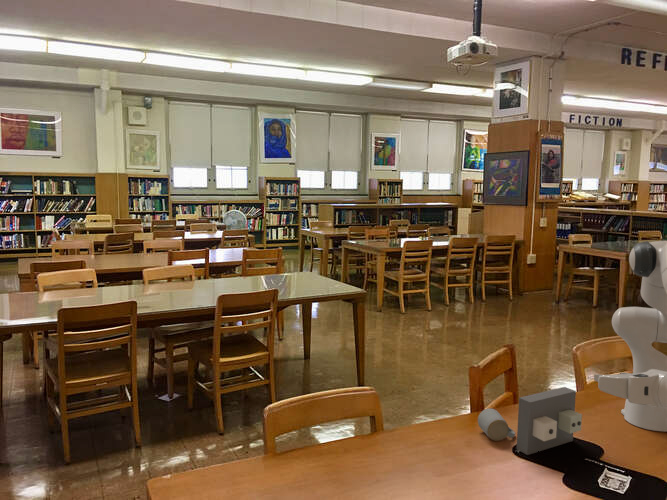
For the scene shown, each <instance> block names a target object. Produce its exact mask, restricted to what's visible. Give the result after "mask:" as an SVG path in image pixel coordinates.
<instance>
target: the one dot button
mask: <svg viewBox="0 0 667 500" xmlns="http://www.w3.org/2000/svg"><path fill="white" fill-rule="evenodd" d="M556 431H557V421H555V420H553V419H551V418H549V417H546V416H541V417H537V418H533V431H532V435H533V436H534V437H536V438H538V439H540V440H542V441H547V440H551V439H554V438H556Z"/></svg>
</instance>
